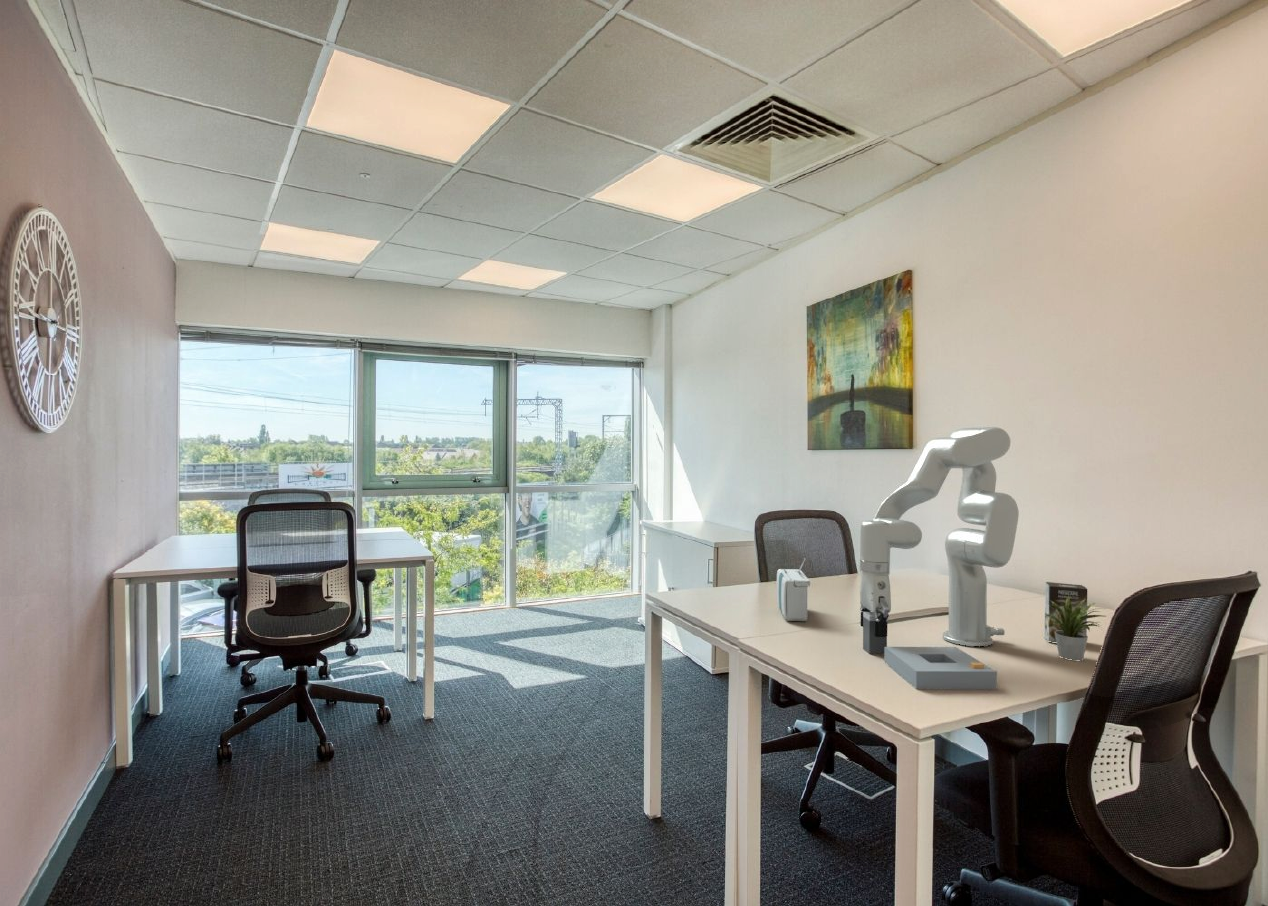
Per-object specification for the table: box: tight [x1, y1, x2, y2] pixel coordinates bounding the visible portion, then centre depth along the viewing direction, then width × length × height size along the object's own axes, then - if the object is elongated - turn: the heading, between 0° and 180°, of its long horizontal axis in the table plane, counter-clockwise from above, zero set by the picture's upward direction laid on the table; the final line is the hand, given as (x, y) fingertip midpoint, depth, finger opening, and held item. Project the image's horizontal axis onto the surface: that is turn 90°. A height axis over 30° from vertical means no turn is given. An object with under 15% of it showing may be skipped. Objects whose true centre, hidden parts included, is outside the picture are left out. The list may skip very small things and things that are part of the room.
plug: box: [862, 611, 888, 655], centre depth 169 cm, size 5×5×10 cm
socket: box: [883, 646, 998, 690], centre depth 151 cm, size 18×18×5 cm
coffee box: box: [1044, 581, 1088, 642], centre depth 178 cm, size 9×6×16 cm
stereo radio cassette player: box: [776, 557, 811, 622], centre depth 208 cm, size 21×8×20 cm, turn 174°
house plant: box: [1046, 594, 1106, 660], centre depth 163 cm, size 14×14×16 cm
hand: (873, 631), depth 169 cm, fingers open, 9 cm apart
